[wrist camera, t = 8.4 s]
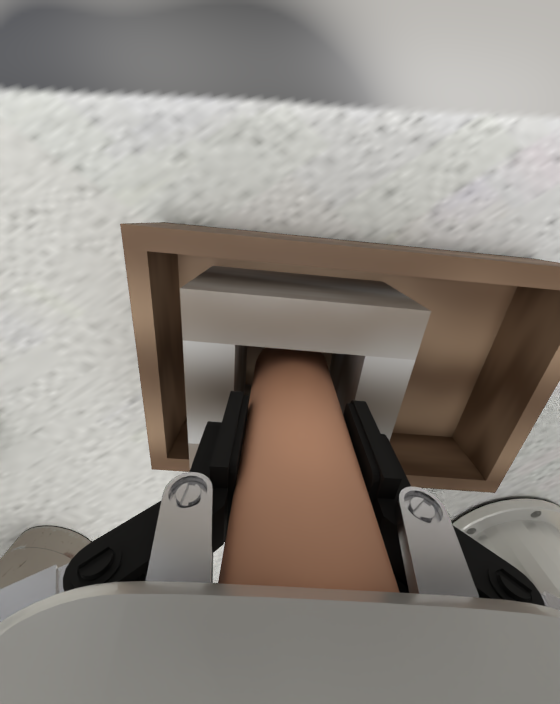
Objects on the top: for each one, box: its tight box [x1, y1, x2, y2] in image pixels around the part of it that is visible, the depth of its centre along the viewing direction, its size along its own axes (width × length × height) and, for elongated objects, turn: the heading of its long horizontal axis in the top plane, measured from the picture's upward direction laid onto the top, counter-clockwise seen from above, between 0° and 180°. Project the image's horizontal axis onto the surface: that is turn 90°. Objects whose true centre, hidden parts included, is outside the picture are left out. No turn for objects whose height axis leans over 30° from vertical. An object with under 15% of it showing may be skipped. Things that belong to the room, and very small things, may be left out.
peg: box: [218, 347, 400, 593], centre depth 11 cm, size 4×4×12 cm
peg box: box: [120, 222, 560, 493], centre depth 17 cm, size 14×22×7 cm, turn 85°
